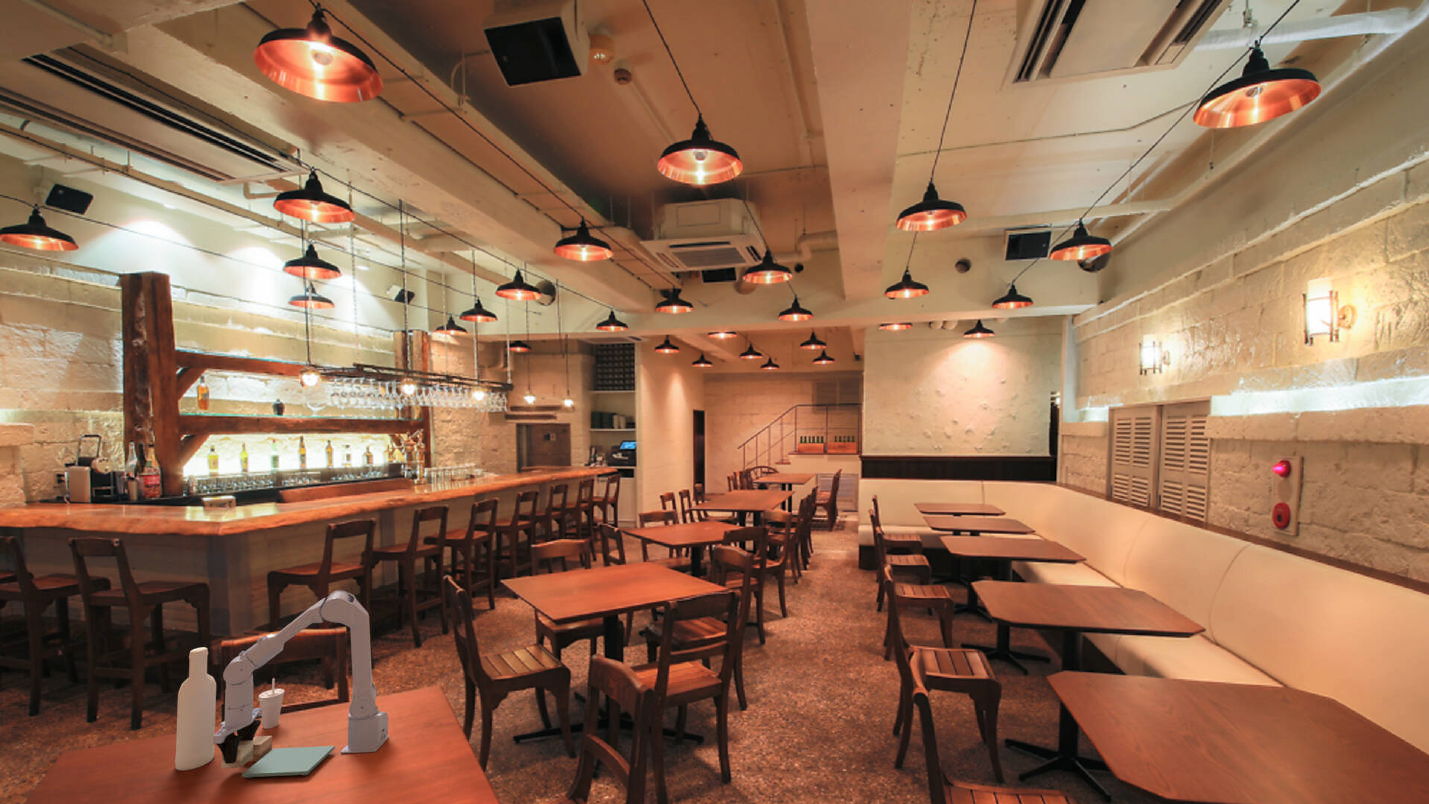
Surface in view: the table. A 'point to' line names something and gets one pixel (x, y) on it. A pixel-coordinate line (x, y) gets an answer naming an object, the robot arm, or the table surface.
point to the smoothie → (271, 706)
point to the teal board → (289, 761)
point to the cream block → (241, 755)
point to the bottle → (196, 715)
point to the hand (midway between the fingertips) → (237, 757)
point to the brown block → (261, 747)
